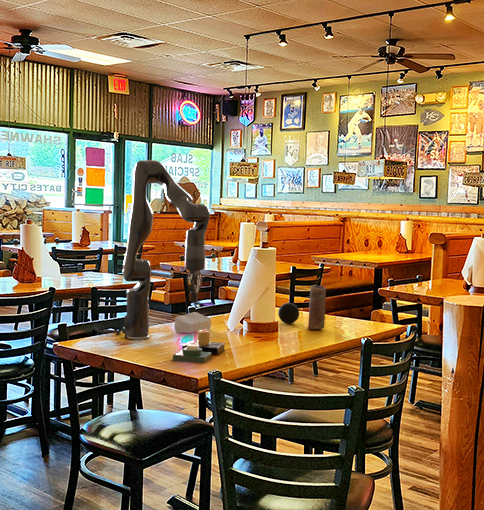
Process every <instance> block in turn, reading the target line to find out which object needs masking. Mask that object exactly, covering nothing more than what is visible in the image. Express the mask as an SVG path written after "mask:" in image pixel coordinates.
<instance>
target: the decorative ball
mask: <svg viewBox="0 0 484 510" xmlns="http://www.w3.org/2000/svg"><path fill="white" fill-rule="evenodd" d="M277 313H278V318H279V320H280V321H281V322H282V323H284V324H286V325H291V324H294V323H295V322H296V321H298V319H299V317H300V310H299V308H298V306H297V305H296V304H294V303H292V302H285V303H282V305H280V307H279V309H278V312H277Z"/></svg>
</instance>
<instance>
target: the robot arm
mask: <svg viewBox="0 0 484 510" xmlns="http://www.w3.org/2000/svg"><path fill="white" fill-rule="evenodd" d="M132 178H133V182H132V183H133V185H132V187H133V188H132V203H131V211H130V218H129V227H128V236H127V237H128V239H127V246H126V250H125V255H124V260H123V264H122V265H123V266H122V277H123V279H124V280H125V282H130V283H131V282H132V283H134V282H138V283H137V284H136V285H135V286H134V287H132V288H130V289H127V291H126V315H124V326H123V327H121V328H119V329H112V330H106V331H101V330H99V328H97V330H95V329H94V328H93V329H92V330H91V331H92V332H97V333H98V334H103V335H105V334H106V335H107V334H112V333H116V335H118V336H119V335H120V334H121V333H122V334H124V339H128V340H133V341H143V340H147V339H149V338H150V335H149V334H150V333H149V331H150V330H149V329H150V324H149V323H150V321H149V319H150V291H151V277H152V276H151V275H152V268H151V262H150V261H149V260H148V259H146V258H140V259H139V258H137V256H138V253H139V251H140V249H141V247H142V246H143V244H144V243H145V242H146V241H147V240H148V238H149V237H150V235H151V234H152V230H153V224H154V212H153V209H152V206H151V205H150V202H149V200H148V197H147V189H148V188H147V187H148V184H158V185H159V186H161V187H162V188H163V189H164V193H165V197H166V199H167V200H168V202H169V203H170V204H172V205H173V206H174V207H175V208H176V209H177V211H178V213H179V215H180V216H181V218H182V219H183V220H184V221H185V222H187V223H190V224H193V223H194V225H193V227H192V228H190V229H188V230H187V231H186V235H185V236H186V239H185V251H184V254H185V255H184V269H185V270H187V271H189V272H188V275H187V278H186V280H185V281H186V286H187V291H188V292H190V303H193V304H196V303H198V298H199V297H198V295H199V294H198V293H199V291H200V290H201V288H202V287H201V286H202V283H203V279H204V277H203V276H202V274H201V271H204V270H205V269H206V232H207V229H208V225H209V222H210V218H211V211H210V209H209V206H208V205H206V204H205V203H194V201H193V197H192V196H191V195H190V194H189V192H187V191H186V190H185V189H183V188H182V187H181V186H180V185H179V184H178V183H177V182H176V180H175V179H174V177H172V175H171V174H170V173H169V171H168V170H167V169H166V168H165V166H164V165H163V163H162V162H160V161H159V160H157V159H156V160H154V159H147V160H146V159H145V160H138V161H137V162H136V163H135V164H134V168H133V177H132Z"/></svg>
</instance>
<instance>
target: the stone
mask: <svg viewBox="0 0 484 510" xmlns="http://www.w3.org/2000/svg"><path fill="white" fill-rule="evenodd" d="M211 328H212V319H211V318H210V317H209V316H206V315H204V314H201V313H200V312H197V311H193V312H190V313H187V314H183V315H179V316H178V315H177V316H176V317H175V319H174V331H175V333H178V334H179V333H182V334H183V333H184V334H185V333H188V334H190V333H191V334H192V333H198V331H200V330H208V331H210V329H211Z"/></svg>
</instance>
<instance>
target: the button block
mask: <svg viewBox="0 0 484 510" xmlns="http://www.w3.org/2000/svg"><path fill="white" fill-rule="evenodd" d="M212 356H213V355H212V352H202V348H199V347H198V350H187V347H186V348H183V350H182V349H180V350H178V351H177V352H175V353H174V354H172V362H180V363H181V362H182V363H193V364H206V363H207V362H208V361H209V360H211V359H212Z"/></svg>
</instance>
